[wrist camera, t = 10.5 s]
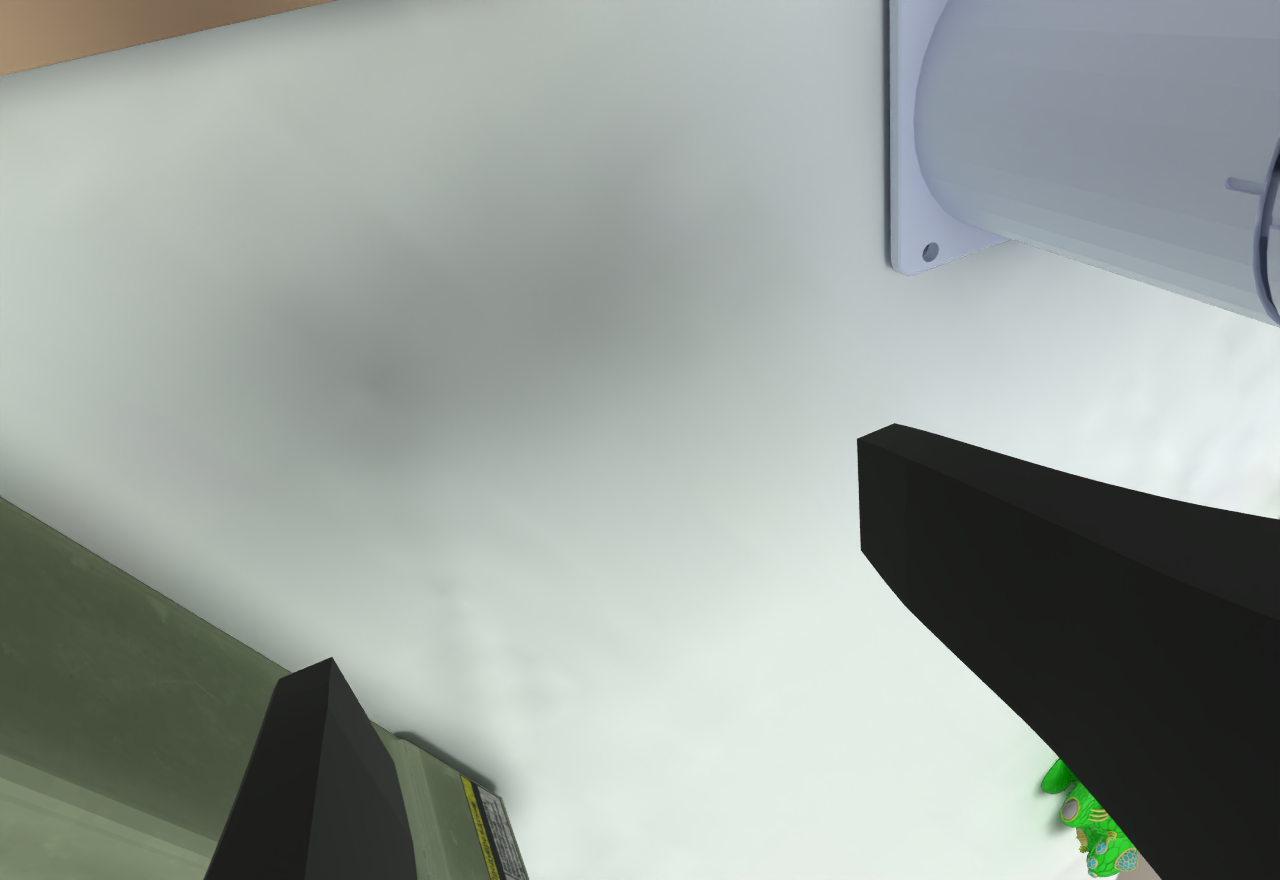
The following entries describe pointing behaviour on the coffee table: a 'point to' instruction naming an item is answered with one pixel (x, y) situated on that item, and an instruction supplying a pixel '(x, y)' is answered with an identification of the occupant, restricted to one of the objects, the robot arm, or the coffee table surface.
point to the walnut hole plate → (112, 25)
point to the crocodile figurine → (1091, 826)
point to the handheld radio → (160, 732)
